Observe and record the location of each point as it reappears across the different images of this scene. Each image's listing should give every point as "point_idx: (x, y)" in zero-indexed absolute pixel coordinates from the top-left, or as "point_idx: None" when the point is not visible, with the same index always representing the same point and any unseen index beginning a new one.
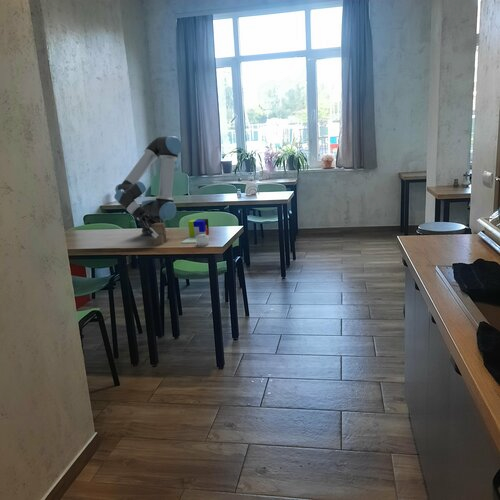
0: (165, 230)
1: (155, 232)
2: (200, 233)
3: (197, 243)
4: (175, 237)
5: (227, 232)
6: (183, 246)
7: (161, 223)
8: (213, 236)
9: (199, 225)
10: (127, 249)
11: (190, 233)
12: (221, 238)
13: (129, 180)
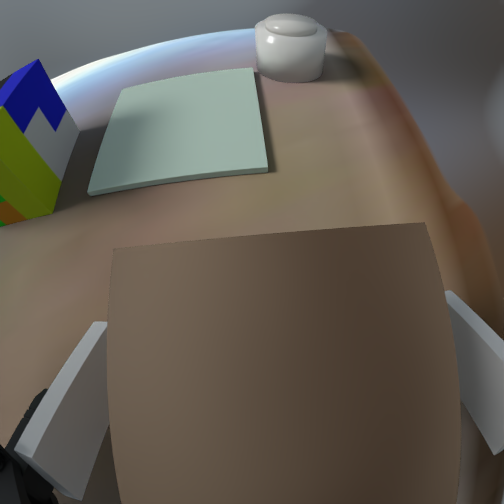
0: (105, 347)
1: (476, 320)
2: (62, 133)
3: (320, 66)
4: (35, 326)
5: None
6: (361, 127)
7: (224, 302)
8: (86, 102)
9: (37, 96)
10: (495, 493)
11: (39, 190)
12: (147, 59)
13: None
